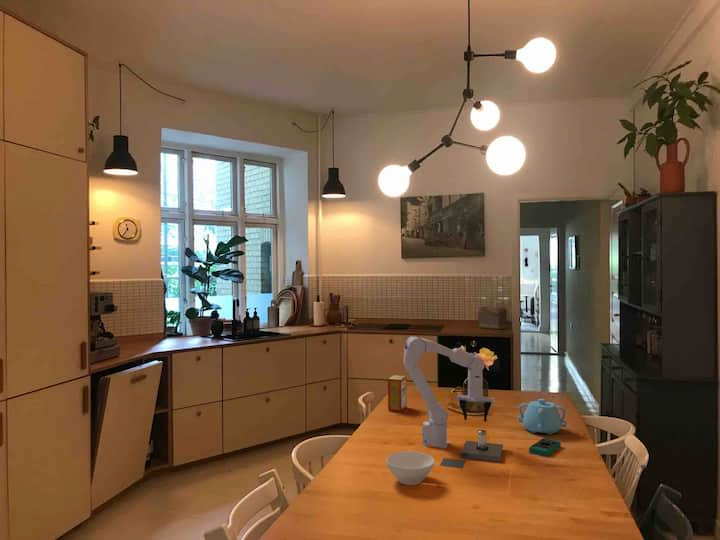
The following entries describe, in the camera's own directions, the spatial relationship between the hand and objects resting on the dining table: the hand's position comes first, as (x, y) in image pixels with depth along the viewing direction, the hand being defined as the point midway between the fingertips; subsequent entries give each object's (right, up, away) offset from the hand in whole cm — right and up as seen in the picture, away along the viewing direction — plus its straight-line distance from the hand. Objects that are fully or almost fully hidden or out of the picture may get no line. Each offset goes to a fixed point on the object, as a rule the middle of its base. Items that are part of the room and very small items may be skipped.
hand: (475, 420), depth 214 cm
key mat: (-13, -10, -22) cm, 27 cm away
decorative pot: (+32, -9, +17) cm, 37 cm away
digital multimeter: (+25, -10, -7) cm, 28 cm away
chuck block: (0, -10, -13) cm, 16 cm away
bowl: (-29, -10, -36) cm, 48 cm away
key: (0, -10, -13) cm, 16 cm away
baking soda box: (-27, -9, +53) cm, 60 cm away
